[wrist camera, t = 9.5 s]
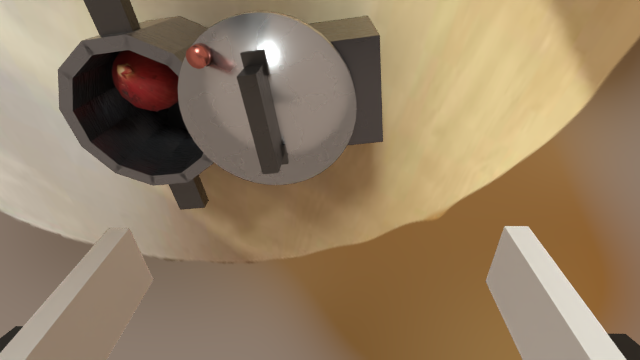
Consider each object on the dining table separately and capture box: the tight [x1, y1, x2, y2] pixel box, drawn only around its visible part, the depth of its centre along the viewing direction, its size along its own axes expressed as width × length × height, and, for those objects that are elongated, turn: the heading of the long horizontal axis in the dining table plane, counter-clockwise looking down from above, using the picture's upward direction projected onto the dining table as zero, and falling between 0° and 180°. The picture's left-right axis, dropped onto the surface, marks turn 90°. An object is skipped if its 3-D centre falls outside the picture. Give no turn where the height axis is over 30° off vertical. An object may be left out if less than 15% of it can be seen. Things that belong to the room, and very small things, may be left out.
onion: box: [112, 50, 179, 111], centre depth 29 cm, size 6×6×8 cm
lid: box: [178, 11, 356, 185], centre depth 23 cm, size 13×13×4 cm
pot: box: [58, 0, 214, 209], centre depth 30 cm, size 21×12×10 cm, turn 7°
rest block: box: [308, 16, 383, 145], centre depth 29 cm, size 8×7×10 cm
